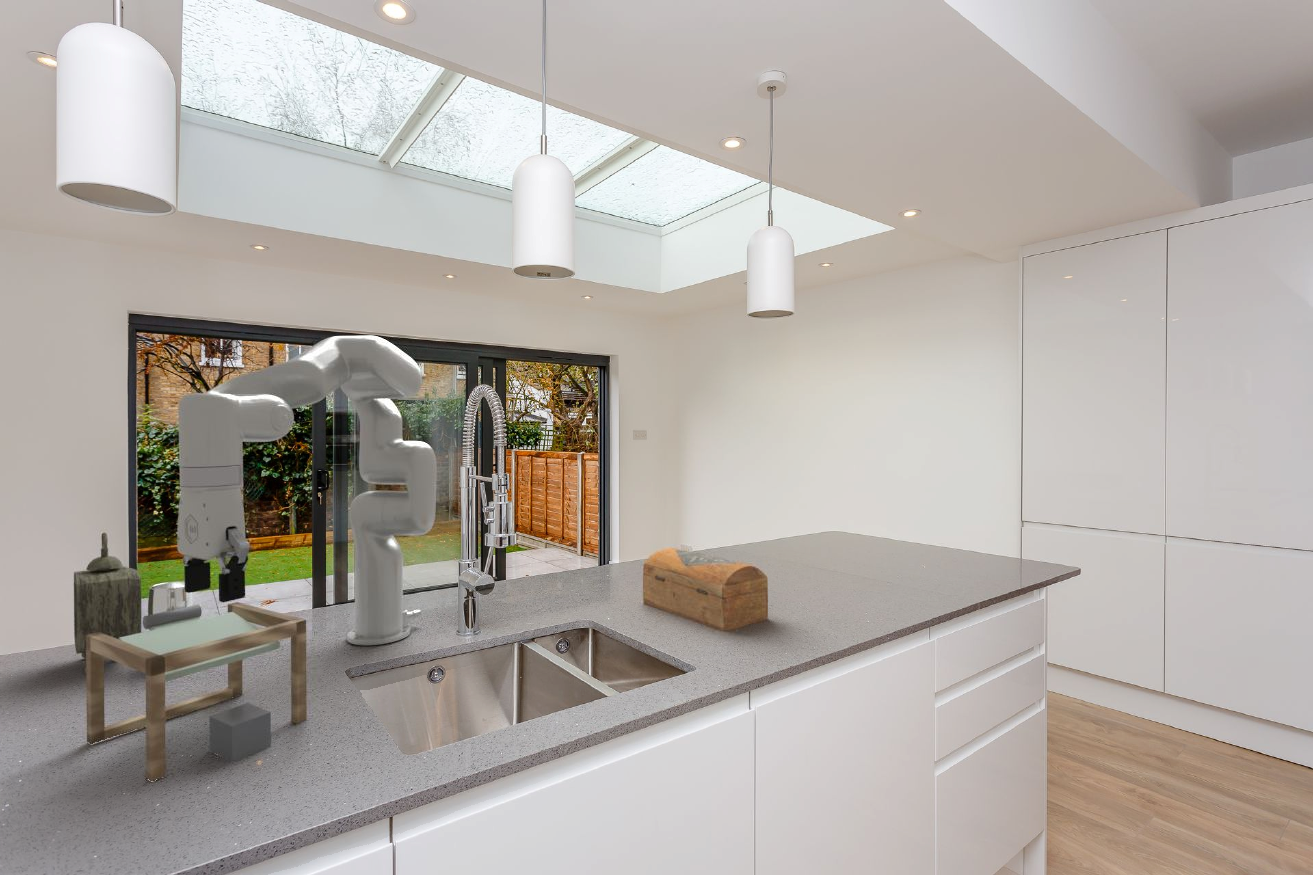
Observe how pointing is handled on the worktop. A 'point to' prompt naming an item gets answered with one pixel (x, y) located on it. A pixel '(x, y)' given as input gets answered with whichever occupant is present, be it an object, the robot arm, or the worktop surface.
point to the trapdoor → (193, 636)
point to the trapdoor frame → (157, 665)
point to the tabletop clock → (106, 599)
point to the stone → (240, 732)
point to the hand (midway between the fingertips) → (214, 594)
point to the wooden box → (705, 588)
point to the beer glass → (168, 597)
